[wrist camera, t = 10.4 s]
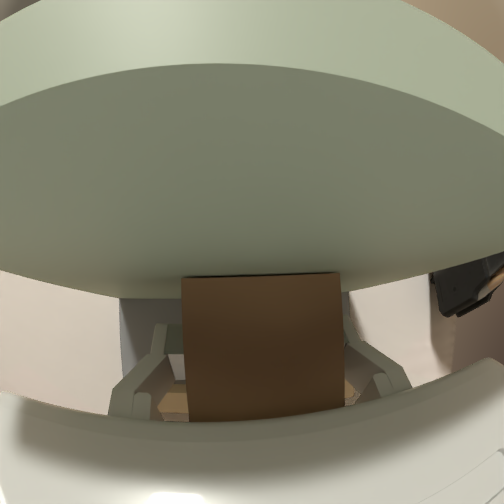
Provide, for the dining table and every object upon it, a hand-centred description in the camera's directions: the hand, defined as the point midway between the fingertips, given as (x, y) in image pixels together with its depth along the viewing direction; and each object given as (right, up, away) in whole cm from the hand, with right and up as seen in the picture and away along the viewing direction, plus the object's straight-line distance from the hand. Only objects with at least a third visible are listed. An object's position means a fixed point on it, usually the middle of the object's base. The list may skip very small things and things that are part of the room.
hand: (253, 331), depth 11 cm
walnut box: (-1, -2, +4) cm, 5 cm away
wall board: (-1, -3, +9) cm, 10 cm away
